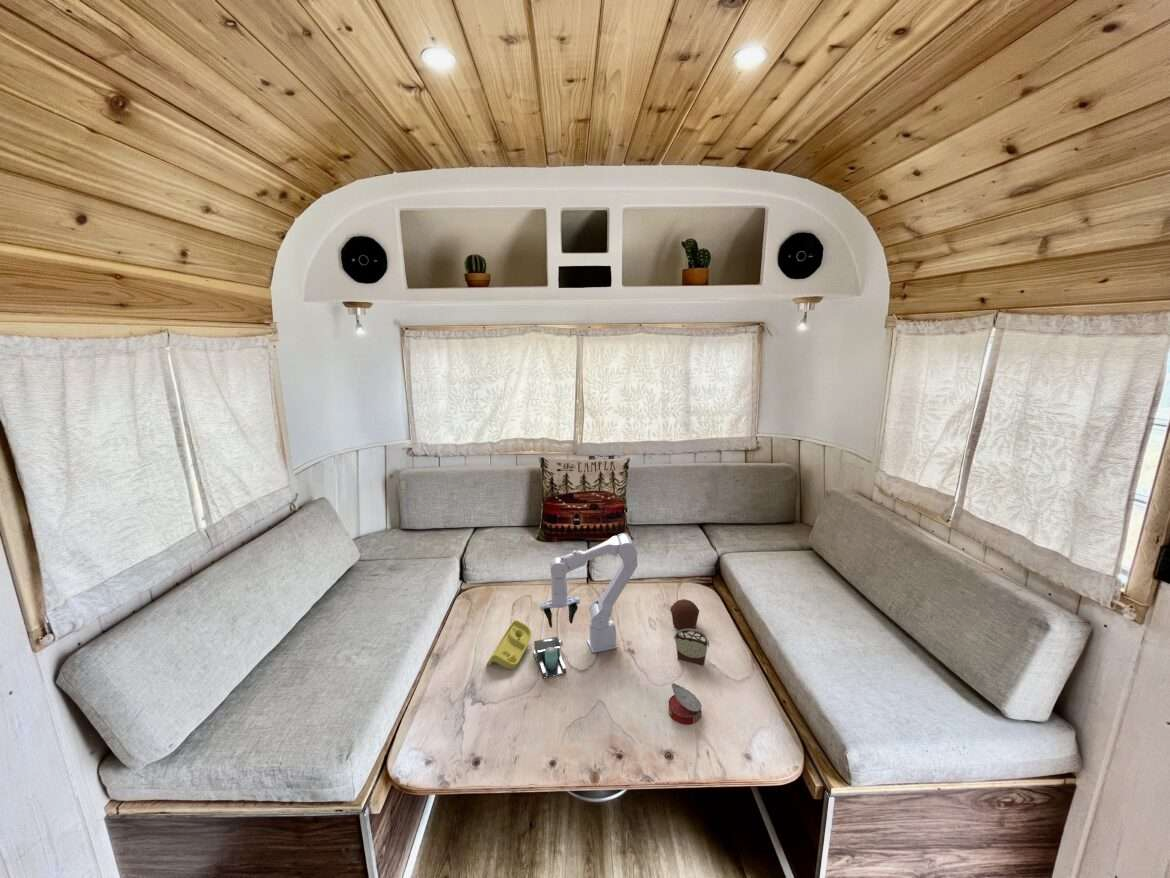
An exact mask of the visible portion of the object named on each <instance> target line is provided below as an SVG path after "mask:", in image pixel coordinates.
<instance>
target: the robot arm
mask: <svg viewBox="0 0 1170 878" xmlns="http://www.w3.org/2000/svg"><path fill="white" fill-rule="evenodd" d="M608 554H609V555H611V556H613V557H616V558H618V556H619V557H620V559H621V561H622V562H621V564H620V566H619V567H618V569H617V570H616V572H615V574H614V576H613V577H612V579H611V580H610V582H609V584H608V585H607V586H606V589H605V590H604V592H603V594H602V595H601V596H599V597H597V598H596V600H595V601H594V602H592V603H591V604H590V606H589V612H590V618H591V619H590V620H589V638H588V639H586V642H587V645H588V646H589V648H590V650H591V653H593V654H596V653H599V652H605V651H608V650H609V651H610V650H613V649H617V648H618V646H617V630H616V624H615V622H614V621H613V620H612V619H610V618H611V616H612V613H613V608H614V605H615V603H616V602H617V600H618V598H619V597H620V596H621V594H622V592H623V590H624V589H625V587H626V585H627V584H628V582H629V580H630V579H631V577H632V576H633V574H634V572H635V571H636V570H637V567H638V550H637V549H636V547H635V545H634V542H633V540H632V538H631V536H630V535H629V533H628V534H627V533H625V532H622V533H619V534H617V535H613V536H611V537H610V538H609V539H607V540H605V541H603V542H601V543H599V544H596V545H595V546H593V547H591V548H588V549H587V550H584V551H583V550H580V549H579V550H576V549H574V550H572V552H571V553H569V554H566V555H561V556H560V557H559V556H558V557H554V558H552V560H551V561H550V564H549V567H550V583H551V584H550V585H551V587H550V588H551V599H550V600H547V601H545V602H541V603H539V610H540V611H541V612H543V613H544V615H545V616H546V618H547V622H548V626H549V628H553V620H552V617H553V613H552V610H551V609H556V608H557V609H561V608H565V607H567V606H568V622H569V623H570V624H573V621H574V618H575V614H576V613H577V610H578V605H580V604H581V603H580V601H581V600H580V598H579V596H573V597H572V596H568V579H567V574H568V573H571V572H573V571H575V570H577V569H579V568H582V567H584V566H586V565H587V563H588V561H591V560H595V559H596V558H598V557H602V556H606V555H608Z"/></svg>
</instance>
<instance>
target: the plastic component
mask: <svg viewBox="0 0 1170 878" xmlns="http://www.w3.org/2000/svg"><path fill="white" fill-rule="evenodd" d="M532 635H533V634H532V630H531V628H530V627H529V626H528V625H527V624H526V623H524V622H522V621H520V620H518V619H515V620H514V621H513V622H512V623H511V625H509V626H508V628H507V631H506V632H505V633H504V635H503V637H502V638H501V639H500V641H499V642H498V645H496V648H495V649H494V651H493V653H492V654H491V656H490V657H489V659H488V661H487V662H486V665H487V666H491V664H492V663H493V662H494V663H496V664H498V665H500V666H502V667H503V668H506V669H507V670H510V671H511V670H515V669H516V668H517V666H518V664H519V662H520V660H521V658H522V656H523V655H524V653H525V650H526V649H527V647H528V645H529V643H530V641H531V638H532ZM514 668H515V669H514Z"/></svg>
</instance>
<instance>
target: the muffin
mask: <svg viewBox="0 0 1170 878" xmlns="http://www.w3.org/2000/svg"><path fill="white" fill-rule="evenodd" d="M669 611H670V612H671V618H672V624H673V628H675V629H676V630H677V631H679V630H682V629H696V627H697V624H698V623H697V622H698V619H699V618H698V617H699V614H700V609H699V608H698V606H697V605H696V604H695V602H693V601H691V600H689V599H684V598H683V599H679V600H676V601H675V602H674V603H673V604H672V605H671V606H670V610H669Z"/></svg>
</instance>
